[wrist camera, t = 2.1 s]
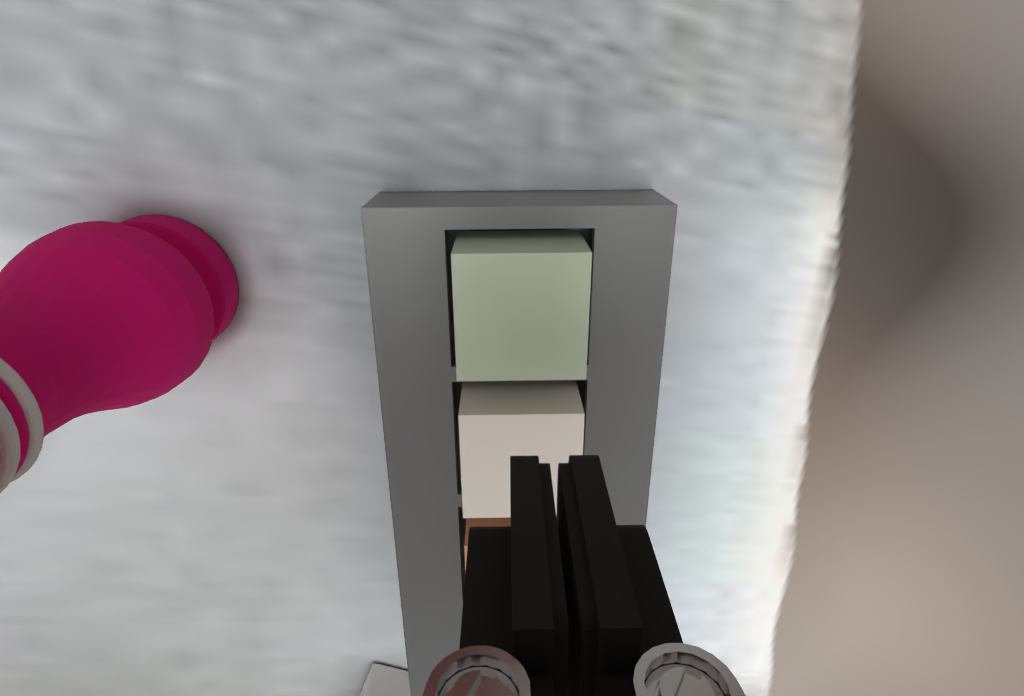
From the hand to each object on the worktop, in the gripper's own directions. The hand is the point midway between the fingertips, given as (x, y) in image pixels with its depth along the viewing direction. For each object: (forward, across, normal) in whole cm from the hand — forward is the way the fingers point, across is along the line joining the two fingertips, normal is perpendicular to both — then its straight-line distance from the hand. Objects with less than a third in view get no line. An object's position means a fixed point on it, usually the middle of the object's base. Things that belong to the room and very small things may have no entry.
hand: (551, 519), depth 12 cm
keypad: (+18, 0, +10) cm, 21 cm away
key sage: (+15, 0, 0) cm, 16 cm away
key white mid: (+15, 0, +7) cm, 17 cm away
